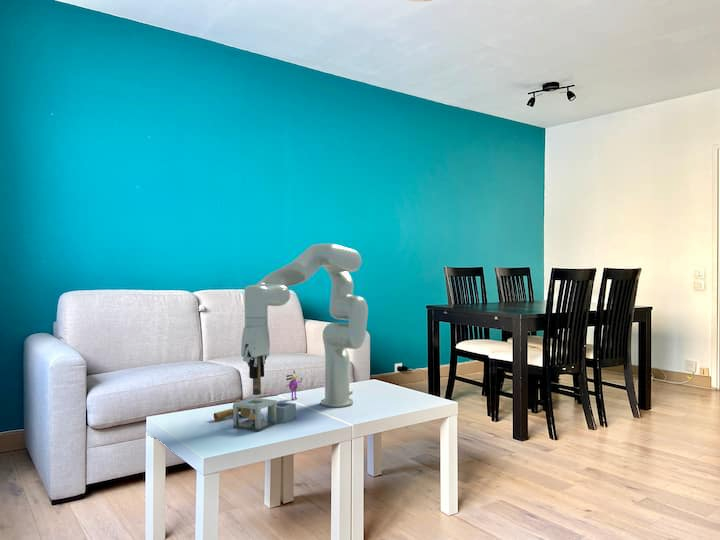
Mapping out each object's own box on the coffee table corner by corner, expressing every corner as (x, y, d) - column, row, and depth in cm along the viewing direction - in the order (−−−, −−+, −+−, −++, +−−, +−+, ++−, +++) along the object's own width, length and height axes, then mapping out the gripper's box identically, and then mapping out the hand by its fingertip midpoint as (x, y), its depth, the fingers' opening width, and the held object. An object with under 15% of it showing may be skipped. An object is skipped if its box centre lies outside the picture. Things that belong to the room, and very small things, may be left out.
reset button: (254, 419, 179) (254, 413, 179) (263, 420, 178) (263, 414, 178) (246, 422, 176) (246, 416, 176) (256, 423, 174) (256, 417, 174)
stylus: (256, 392, 179) (255, 348, 179) (262, 393, 178) (261, 348, 178) (251, 394, 177) (250, 349, 177) (257, 395, 176) (257, 349, 176)
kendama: (223, 427, 179) (267, 411, 192) (219, 409, 180) (263, 393, 192) (212, 427, 185) (256, 411, 198) (208, 409, 185) (252, 394, 198)
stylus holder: (279, 415, 190) (279, 401, 190) (295, 418, 187) (295, 403, 187) (267, 420, 184) (267, 405, 184) (284, 422, 181) (284, 408, 181)
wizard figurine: (288, 402, 209) (288, 372, 210) (281, 401, 211) (281, 371, 211) (304, 397, 219) (304, 368, 219) (298, 396, 221) (298, 367, 221)
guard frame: (252, 420, 183) (252, 397, 183) (276, 424, 179) (276, 400, 179) (233, 427, 174) (233, 403, 175) (258, 431, 170) (258, 406, 170)
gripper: (261, 319, 186) (262, 372, 186) (231, 324, 172) (232, 381, 172) (279, 320, 183) (280, 373, 183) (250, 325, 168) (250, 383, 168)
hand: (256, 376), depth 177 cm, fingers closed on stylus, 2 cm apart
